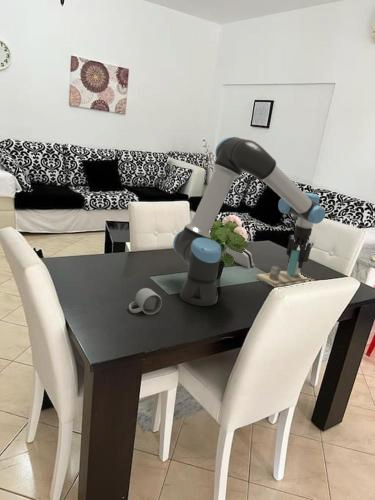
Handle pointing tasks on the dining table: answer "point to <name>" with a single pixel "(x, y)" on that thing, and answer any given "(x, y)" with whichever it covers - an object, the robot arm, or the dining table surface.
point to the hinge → (242, 257)
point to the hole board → (281, 277)
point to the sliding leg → (293, 262)
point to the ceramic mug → (146, 302)
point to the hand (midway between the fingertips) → (293, 271)
